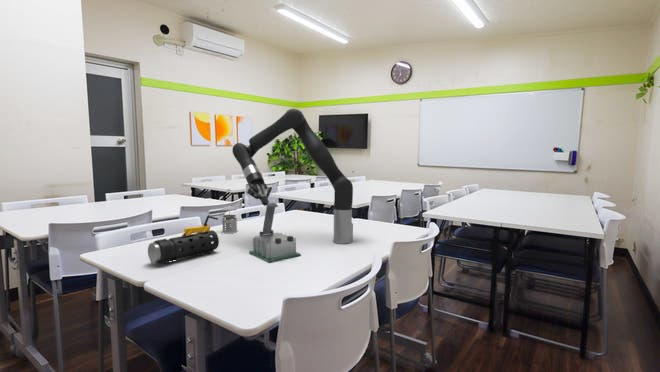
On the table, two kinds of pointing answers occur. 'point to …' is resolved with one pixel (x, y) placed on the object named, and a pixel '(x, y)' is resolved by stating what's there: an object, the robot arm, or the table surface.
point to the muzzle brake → (182, 246)
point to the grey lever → (269, 218)
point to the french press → (229, 220)
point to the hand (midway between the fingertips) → (266, 204)
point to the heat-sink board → (274, 247)
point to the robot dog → (198, 228)
